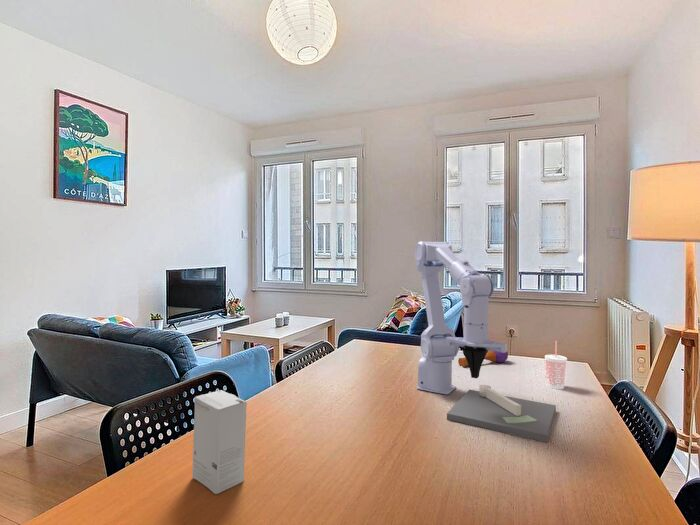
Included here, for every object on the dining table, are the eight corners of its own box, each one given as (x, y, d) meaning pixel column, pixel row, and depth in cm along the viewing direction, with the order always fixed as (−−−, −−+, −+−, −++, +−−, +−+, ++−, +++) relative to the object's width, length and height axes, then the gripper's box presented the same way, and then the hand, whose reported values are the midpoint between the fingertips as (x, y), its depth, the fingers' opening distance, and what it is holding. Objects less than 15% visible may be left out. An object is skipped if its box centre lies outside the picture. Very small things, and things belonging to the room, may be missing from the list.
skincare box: (191, 478, 73) (190, 396, 73) (221, 465, 78) (220, 388, 78) (217, 496, 68) (216, 408, 68) (247, 481, 73) (247, 398, 72)
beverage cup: (544, 388, 122) (545, 341, 121) (543, 382, 128) (544, 337, 127) (567, 391, 120) (568, 343, 119) (565, 384, 125) (566, 339, 125)
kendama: (454, 353, 147) (498, 344, 155) (457, 370, 147) (501, 360, 154) (464, 354, 142) (509, 345, 149) (467, 372, 141) (512, 361, 149)
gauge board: (446, 419, 99) (446, 412, 99) (469, 394, 116) (469, 388, 116) (546, 442, 88) (546, 434, 88) (555, 411, 105) (555, 404, 105)
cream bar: (477, 393, 112) (477, 385, 112) (486, 393, 113) (486, 384, 113) (513, 416, 97) (513, 406, 97) (524, 415, 98) (524, 405, 98)
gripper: (442, 322, 102) (441, 376, 103) (502, 328, 95) (501, 386, 95) (451, 318, 108) (450, 369, 109) (509, 324, 101) (508, 378, 101)
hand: (475, 377), depth 102 cm, fingers closed
